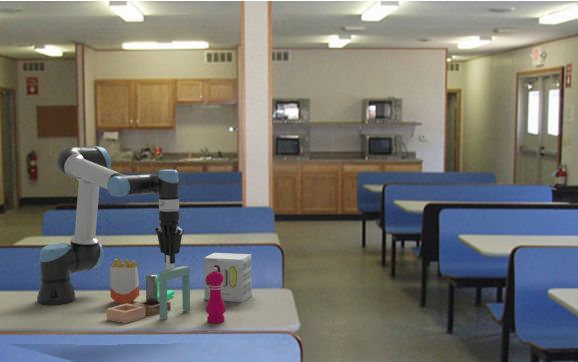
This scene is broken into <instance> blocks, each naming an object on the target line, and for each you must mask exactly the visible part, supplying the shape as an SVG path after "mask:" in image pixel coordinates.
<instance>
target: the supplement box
mask: <svg viewBox="0 0 578 362" xmlns="http://www.w3.org/2000/svg"><path fill="white" fill-rule="evenodd" d="M203 260H204V261H203V262H204V263H203V267H204V269H203V278H204V279H203V280H204V284H203V285H204V287H203V288H204V290H203V291H204V296H203V297H204V298H203V299H204V301H209V298H210V289H209V283H208V281H207V276H208V274H209V273H210V272H213V268H214V267H216V268H217V269H218V270H217V271H218V272H220V273H222V275H223V278H224V279H223V282H222V283H221V284H222V289H221V297H222V300H223V302H231V303H232V302H233V303H244V302H246V300H248V299H250V297H252V296H253V284H252V282H253V281H252V280H253V279H252V272H253V271H252V254H251V253H250V254H249V253H235V252H233V253H231V252H229V253H228V252H227V253H226V252H213V253H211V254H209V255H207V256H205V257H204V258H203Z"/></svg>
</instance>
